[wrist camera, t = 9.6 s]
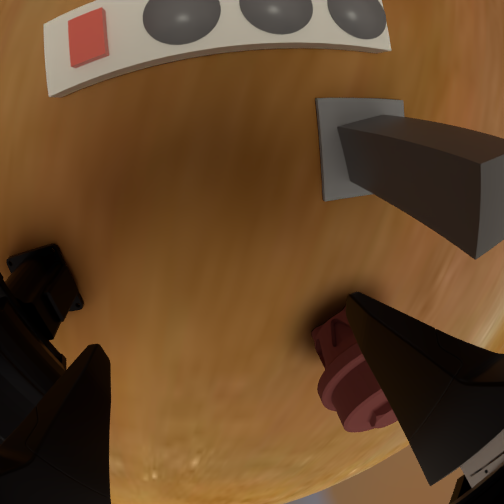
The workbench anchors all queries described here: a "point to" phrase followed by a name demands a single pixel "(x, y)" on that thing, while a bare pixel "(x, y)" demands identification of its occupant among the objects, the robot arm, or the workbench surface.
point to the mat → (331, 151)
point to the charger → (432, 175)
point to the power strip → (197, 33)
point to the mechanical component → (349, 378)
